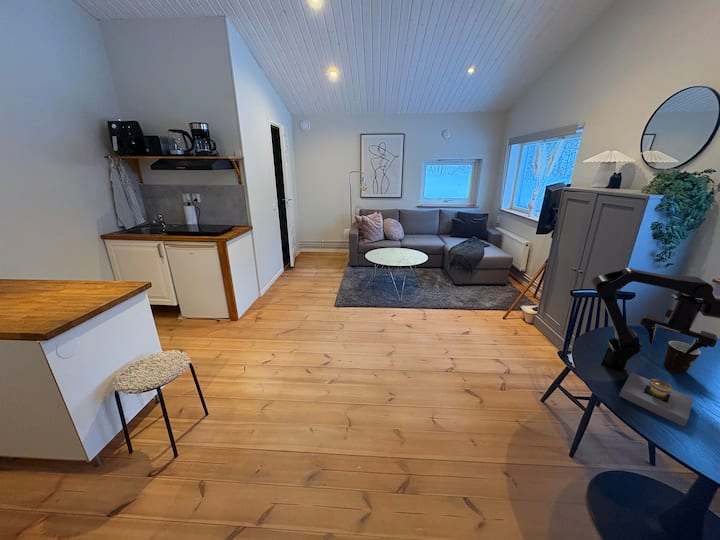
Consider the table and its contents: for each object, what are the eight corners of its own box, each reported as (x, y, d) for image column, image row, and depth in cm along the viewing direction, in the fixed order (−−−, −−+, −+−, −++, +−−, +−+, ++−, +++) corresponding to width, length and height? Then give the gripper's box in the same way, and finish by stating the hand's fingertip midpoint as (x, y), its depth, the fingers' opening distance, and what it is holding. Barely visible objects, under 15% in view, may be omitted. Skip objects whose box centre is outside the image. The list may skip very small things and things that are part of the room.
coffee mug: (673, 361, 120) (683, 340, 116) (696, 375, 112) (707, 354, 108) (646, 361, 120) (655, 341, 116) (667, 376, 112) (677, 354, 108)
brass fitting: (641, 399, 101) (649, 383, 98) (644, 392, 104) (652, 376, 101) (663, 409, 97) (671, 393, 94) (665, 401, 100) (673, 385, 97)
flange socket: (618, 395, 102) (621, 389, 101) (628, 378, 110) (631, 372, 109) (684, 426, 90) (688, 419, 89) (689, 404, 99) (693, 398, 97)
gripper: (726, 315, 100) (706, 353, 106) (653, 296, 114) (639, 330, 119) (725, 326, 94) (703, 365, 99) (647, 304, 107) (632, 340, 113)
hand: (667, 349), depth 108 cm, fingers open, 9 cm apart
